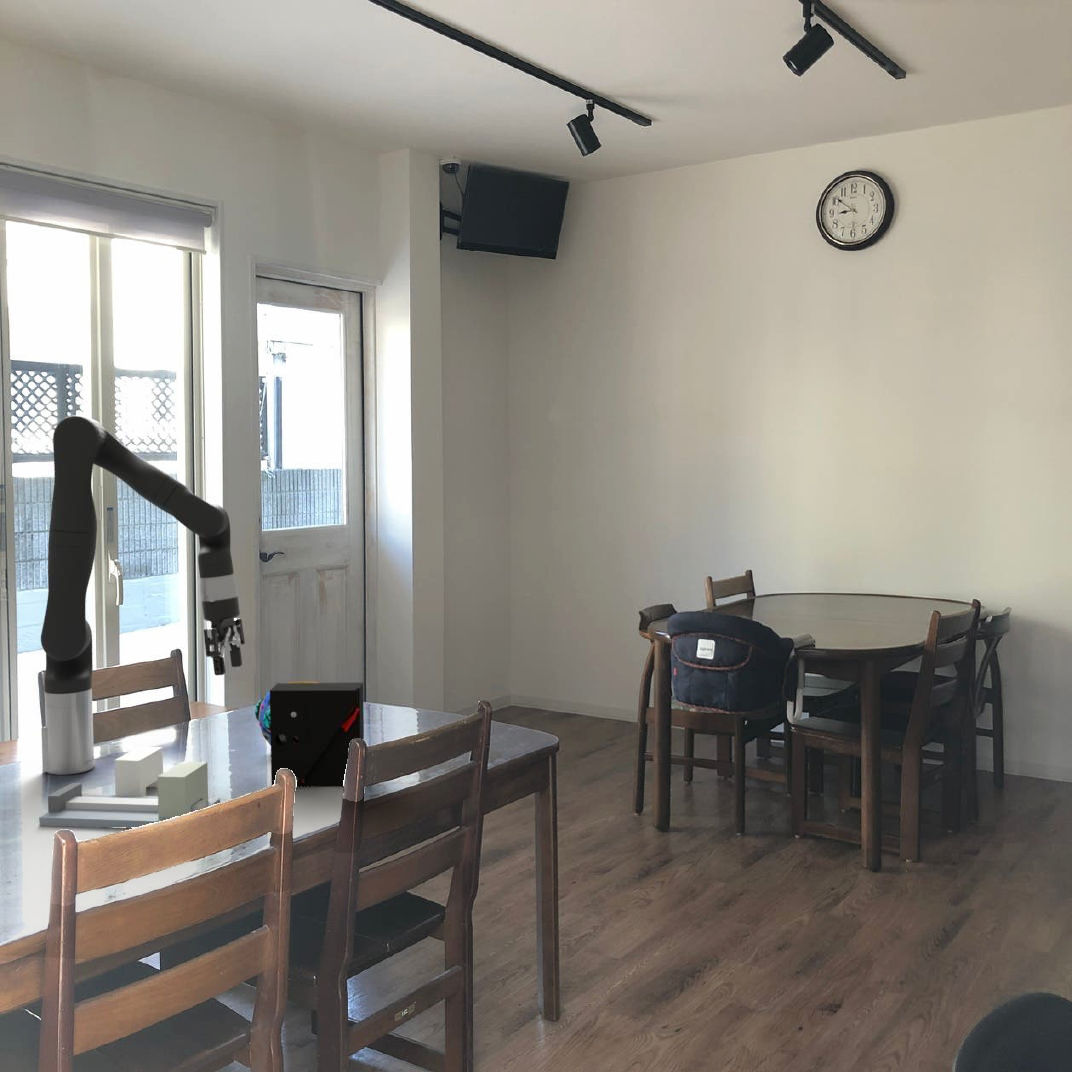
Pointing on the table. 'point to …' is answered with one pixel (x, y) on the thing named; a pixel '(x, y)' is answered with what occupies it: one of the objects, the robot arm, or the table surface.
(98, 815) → the mounting plate
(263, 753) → the table surface
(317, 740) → the electrical component
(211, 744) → the table surface
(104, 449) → the robot arm
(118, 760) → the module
